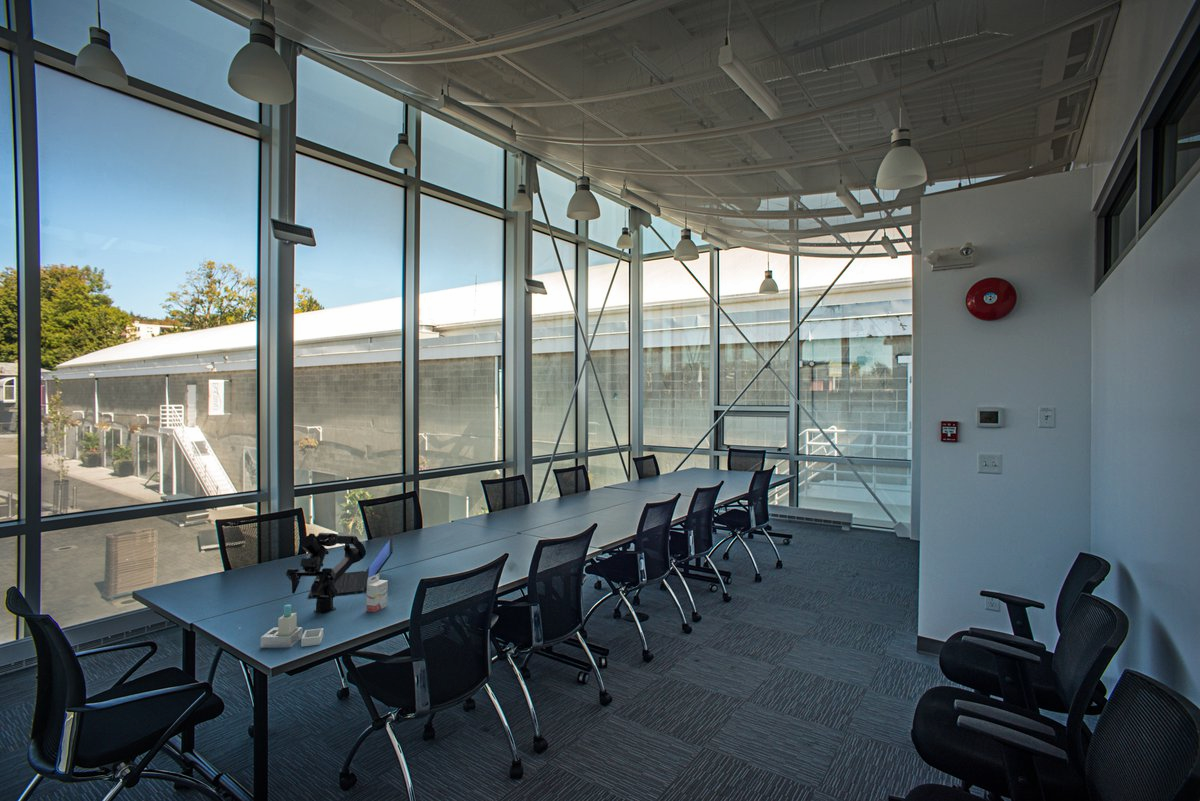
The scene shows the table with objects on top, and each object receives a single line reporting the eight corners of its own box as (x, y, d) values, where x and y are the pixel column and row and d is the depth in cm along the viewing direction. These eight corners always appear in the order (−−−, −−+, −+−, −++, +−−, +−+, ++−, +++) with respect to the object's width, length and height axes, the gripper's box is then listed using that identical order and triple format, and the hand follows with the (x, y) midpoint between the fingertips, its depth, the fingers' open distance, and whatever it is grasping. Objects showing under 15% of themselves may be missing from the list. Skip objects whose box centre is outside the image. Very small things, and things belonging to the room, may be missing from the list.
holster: (323, 635, 226) (323, 628, 226) (320, 644, 218) (320, 636, 218) (305, 637, 224) (305, 630, 224) (301, 646, 216) (301, 638, 216)
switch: (302, 637, 225) (302, 626, 225) (290, 647, 215) (290, 636, 215) (273, 637, 224) (273, 627, 224) (260, 647, 215) (260, 636, 215)
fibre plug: (296, 638, 223) (296, 602, 223) (288, 645, 217) (288, 608, 217) (286, 638, 223) (286, 602, 223) (278, 645, 217) (278, 608, 217)
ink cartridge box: (375, 612, 251) (375, 579, 251) (366, 611, 252) (366, 578, 252) (388, 605, 259) (388, 573, 259) (378, 604, 260) (378, 572, 260)
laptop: (316, 578, 299) (316, 541, 299) (392, 571, 312) (392, 536, 312) (307, 599, 267) (307, 558, 267) (392, 591, 280) (392, 551, 280)
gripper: (287, 549, 241) (273, 584, 230) (332, 549, 241) (321, 583, 230) (296, 562, 248) (283, 597, 237) (340, 562, 249) (329, 596, 238)
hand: (304, 593), depth 236 cm, fingers open, 9 cm apart
